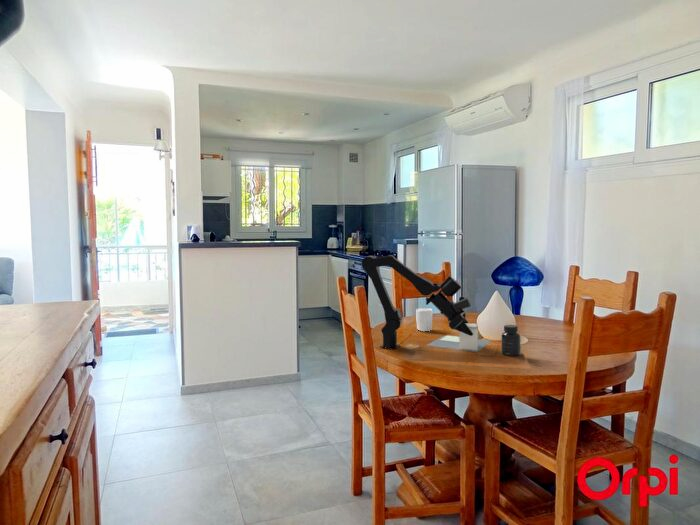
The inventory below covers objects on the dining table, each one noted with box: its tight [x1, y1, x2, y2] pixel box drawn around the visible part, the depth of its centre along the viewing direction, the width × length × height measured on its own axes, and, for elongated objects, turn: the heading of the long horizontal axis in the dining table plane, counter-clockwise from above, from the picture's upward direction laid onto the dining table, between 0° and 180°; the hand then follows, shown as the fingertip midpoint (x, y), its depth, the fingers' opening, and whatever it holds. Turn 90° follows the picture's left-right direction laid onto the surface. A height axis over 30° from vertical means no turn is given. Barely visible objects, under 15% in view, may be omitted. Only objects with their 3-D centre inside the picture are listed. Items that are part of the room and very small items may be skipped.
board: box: [426, 335, 492, 353], centre depth 200 cm, size 20×21×5 cm
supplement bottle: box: [500, 324, 521, 358], centre depth 181 cm, size 7×7×12 cm
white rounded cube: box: [458, 322, 479, 351], centre depth 192 cm, size 7×7×9 cm
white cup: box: [415, 307, 433, 332], centre depth 229 cm, size 8×8×10 cm
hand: (472, 332), depth 192 cm, fingers closed on white rounded cube, 7 cm apart
